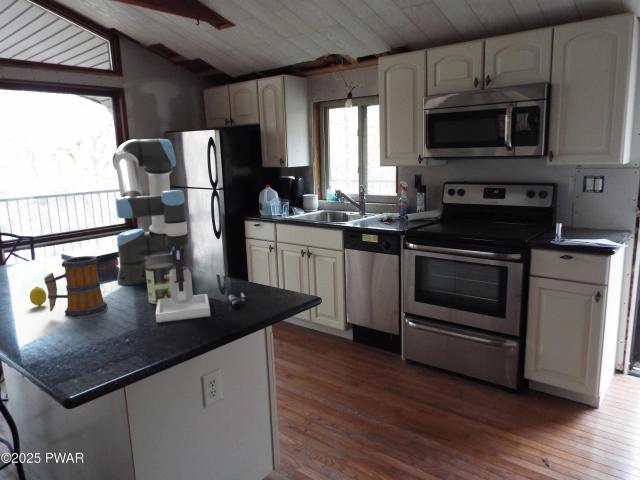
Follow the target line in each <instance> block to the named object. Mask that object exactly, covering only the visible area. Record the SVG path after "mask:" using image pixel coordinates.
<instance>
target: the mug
mask: <svg viewBox="0 0 640 480" xmlns="http://www.w3.org/2000/svg"><path fill="white" fill-rule="evenodd" d="M99 261H100V260H99V258H97V256H93V255H84V256H83V255H82V256H75V257H70V258H66V259H64V260H63V261H62V263H61V267H62V268H64V270H65V271H64V272H65V273H64V274H61V275H58V276H54V272H50V273H49V274H47V275H46V276H45V277H44V279H43V280H44V284H45V285H46V289H47V293H48V295H47V299H48V302H49V312H52V311H53V310H54V308H55V305H56V302H57V299H67V307H66V308H65V310H64V313H65V314H64V316H65V317H66V318H69V319H85V318H91V317H94V316H99V315H101V314H103V313H105V312H107V311H108V309H109V308H108V307H109V306H108V304H107V302H106V301H104V298H103V294H102V290H101V281H100V279H99V274H98V266H97V264H98V262H99ZM64 278H65V279H66V285H65V288H66V293H67V294H58V285H57V281H59V280H61V279H64Z"/></svg>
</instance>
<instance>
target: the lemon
mask: <svg viewBox="0 0 640 480" xmlns="http://www.w3.org/2000/svg"><path fill="white" fill-rule="evenodd" d="M29 300H30V303H31V304H33V305H34V306H37V307H41V306H42V305H43V304H44V303H45V302H46V301H47V292H46V291H45V289H44V288H42V287H40V286H35V287H33V289H31V290H30V293H29Z"/></svg>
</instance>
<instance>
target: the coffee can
mask: <svg viewBox="0 0 640 480" xmlns="http://www.w3.org/2000/svg"><path fill="white" fill-rule="evenodd" d="M173 265H174V264H173V263H171V262H156V263H150V264H148V265H147V266H145V269H146V278H147V282H146V285H147V295H148V302H149V303H150V304H153V305H157V302H158V299H166V298H171V288H170V278H169V274H170V273H171V269H173V268H174V267H173Z"/></svg>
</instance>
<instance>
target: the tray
mask: <svg viewBox="0 0 640 480" xmlns="http://www.w3.org/2000/svg"><path fill="white" fill-rule="evenodd" d="M205 317H211V307H210V302H209V296H208V294H207V293H204V294H196V295H195V294H193V298H192V299H191V301H189V302H186V303H175V302H174V301H172V299H171V298H166V299H158V302H157V304H156V309H155V320H156V323H157V324H159V323H166V322H172V321H174V322H175V321H181V320H182V321H183V320H189V319H198V318H205Z"/></svg>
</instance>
